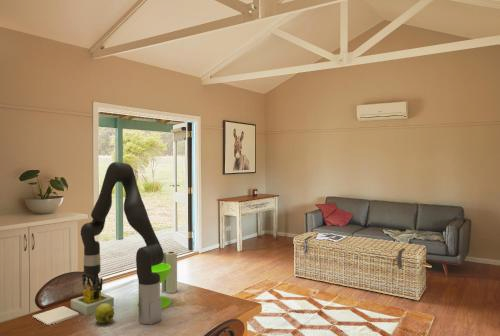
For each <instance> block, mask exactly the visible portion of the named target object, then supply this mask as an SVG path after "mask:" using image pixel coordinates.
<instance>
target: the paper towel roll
mask: <svg viewBox="0 0 500 336" xmlns="http://www.w3.org/2000/svg"><path fill="white" fill-rule="evenodd" d="M163 253H164V259H163V262H162V263H164V264H168V265H170V266H171V270H170V273H169V275H168V277H167V278H166V279H165V280H164V281H163V282H161V293H164V292H166V293H167V294H175V293H176V292H178V251H173V250H172V251H165V252H163Z"/></svg>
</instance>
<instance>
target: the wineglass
mask: <svg viewBox="0 0 500 336" xmlns="http://www.w3.org/2000/svg"><path fill="white" fill-rule="evenodd" d="M151 269H152V272H154V273H158V274H159V275H160V284H162V282H163V281H164V280H165V279H166V278H167V277H168V275H169V273H170V270H171V266H170V265H168V264H164V263H160V264H158V265H155V266H151ZM160 299H161V310H162V309H164V308H167V307H169V306H170V305H171V303H172V301H171V300H170V298H169V297H166V296H162V295H160ZM137 308H139V302H138V303H137Z"/></svg>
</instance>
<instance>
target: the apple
mask: <svg viewBox="0 0 500 336" xmlns="http://www.w3.org/2000/svg"><path fill="white" fill-rule="evenodd" d="M114 316H115V309H114V306H111V305H110V304H108V303H104V304H101V305H99V306H98V307H97V309H96V311H95V313H94V318H95V320H96V321H97V323H101V324H106V323H109V322H110V321H111V320H113V318H114Z"/></svg>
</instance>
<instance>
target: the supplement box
mask: <svg viewBox="0 0 500 336" xmlns="http://www.w3.org/2000/svg"><path fill="white" fill-rule="evenodd" d="M94 285H96V284H94ZM95 288H96V287H95ZM99 288H100V286H99ZM101 293H102V290H100V291H99V299H96V300H95V299H94V289H93V287H92V286H91V284H87V285H84V287H83V296H84V303H86V304H91V303H94V302H97V301H100V300H101Z"/></svg>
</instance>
